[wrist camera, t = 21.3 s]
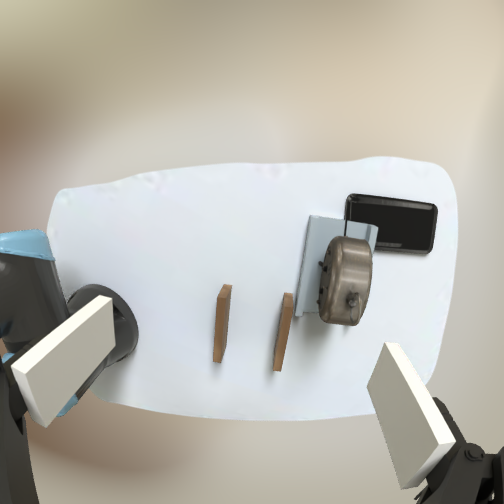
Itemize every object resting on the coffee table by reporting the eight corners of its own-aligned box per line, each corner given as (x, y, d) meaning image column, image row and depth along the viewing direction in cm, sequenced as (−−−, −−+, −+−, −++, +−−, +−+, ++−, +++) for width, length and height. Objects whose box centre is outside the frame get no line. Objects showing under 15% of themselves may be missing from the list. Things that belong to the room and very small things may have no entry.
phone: (347, 192, 39) (438, 204, 38) (346, 192, 41) (435, 203, 39) (342, 248, 41) (431, 255, 40) (341, 246, 43) (428, 253, 41)
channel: (219, 344, 48) (213, 361, 43) (224, 284, 45) (217, 297, 40) (281, 353, 47) (280, 371, 43) (292, 293, 45) (293, 307, 40)
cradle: (294, 308, 45) (295, 315, 43) (310, 214, 41) (311, 217, 39) (353, 315, 45) (356, 322, 42) (373, 224, 41) (378, 227, 38)
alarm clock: (342, 301, 44) (369, 363, 28) (308, 297, 44) (320, 359, 28) (357, 230, 41) (398, 263, 25) (321, 225, 41) (344, 256, 25)
